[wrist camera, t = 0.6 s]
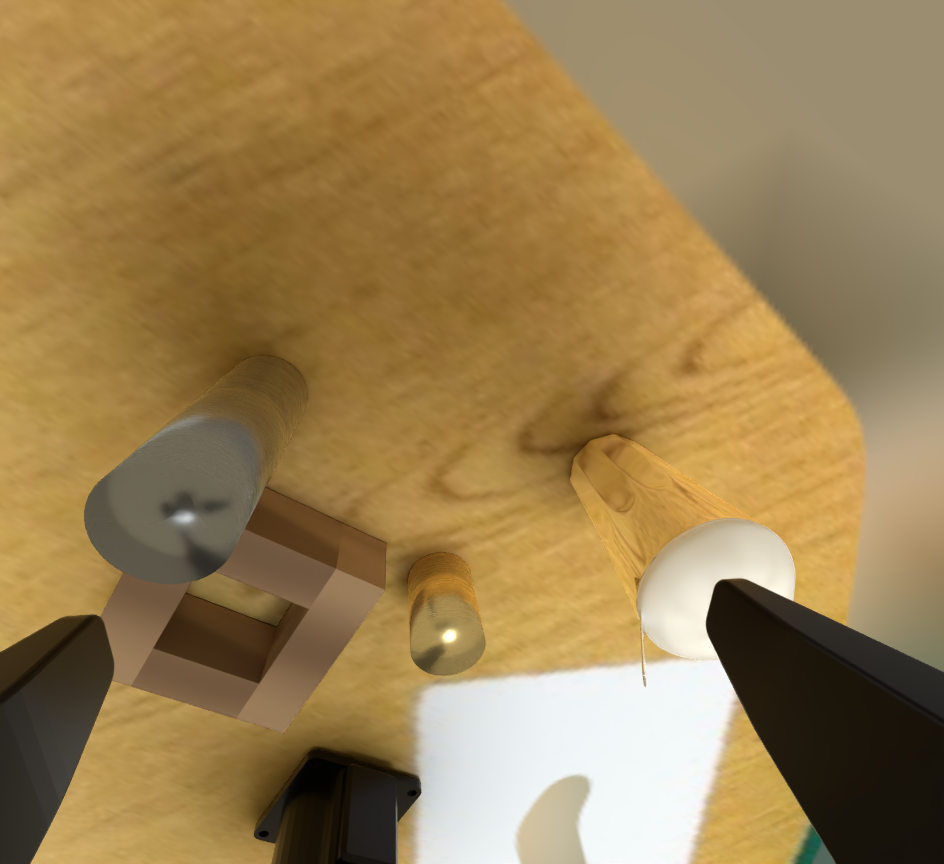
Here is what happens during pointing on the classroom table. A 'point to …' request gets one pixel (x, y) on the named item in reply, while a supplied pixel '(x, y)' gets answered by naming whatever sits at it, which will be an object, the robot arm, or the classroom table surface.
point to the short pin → (443, 615)
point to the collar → (245, 639)
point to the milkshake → (672, 542)
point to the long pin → (198, 476)
